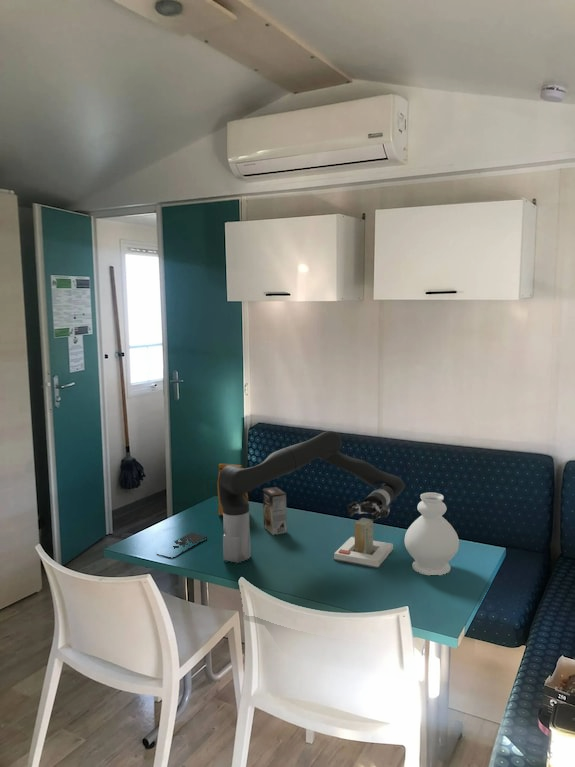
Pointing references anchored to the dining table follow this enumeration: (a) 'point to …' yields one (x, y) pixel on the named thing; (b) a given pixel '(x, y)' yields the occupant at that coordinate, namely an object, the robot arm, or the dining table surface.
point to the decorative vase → (431, 537)
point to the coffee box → (274, 510)
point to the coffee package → (218, 487)
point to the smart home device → (193, 537)
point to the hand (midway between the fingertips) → (361, 515)
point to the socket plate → (371, 560)
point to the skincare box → (364, 536)
